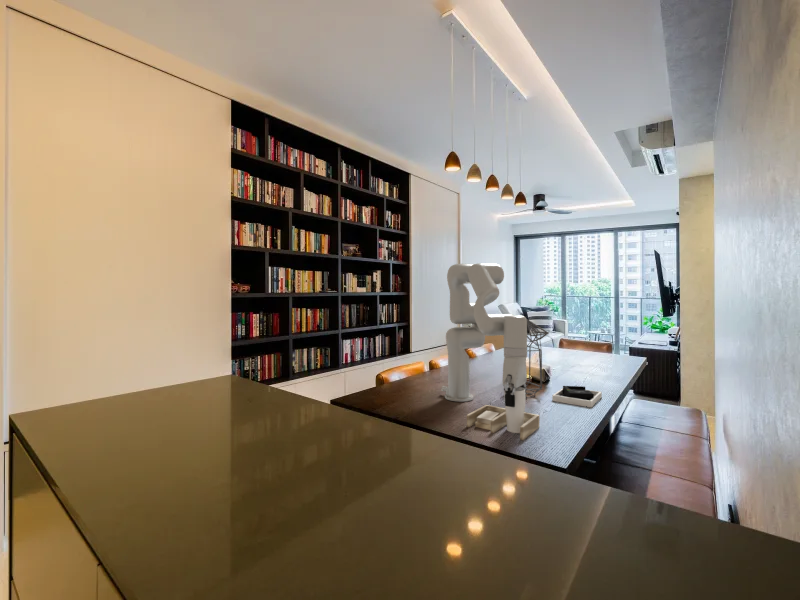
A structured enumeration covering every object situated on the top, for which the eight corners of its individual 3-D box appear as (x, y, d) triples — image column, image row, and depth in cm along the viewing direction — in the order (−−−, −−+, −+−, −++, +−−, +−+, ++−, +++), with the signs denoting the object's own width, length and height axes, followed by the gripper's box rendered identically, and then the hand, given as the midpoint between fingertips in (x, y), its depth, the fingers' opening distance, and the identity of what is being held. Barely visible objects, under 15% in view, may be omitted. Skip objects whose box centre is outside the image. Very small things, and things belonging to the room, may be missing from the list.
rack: (466, 429, 135) (466, 414, 135) (486, 417, 147) (486, 404, 147) (523, 443, 123) (523, 427, 123) (539, 429, 135) (539, 415, 134)
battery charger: (593, 403, 164) (593, 394, 164) (569, 402, 166) (569, 393, 165) (585, 395, 176) (585, 386, 176) (562, 394, 178) (562, 385, 178)
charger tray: (552, 400, 169) (552, 395, 169) (564, 391, 183) (565, 386, 183) (591, 407, 159) (591, 401, 159) (601, 397, 173) (601, 391, 173)
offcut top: (476, 421, 136) (476, 417, 135) (486, 414, 143) (486, 410, 143) (490, 424, 133) (490, 420, 133) (499, 417, 140) (499, 412, 140)
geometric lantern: (527, 390, 187) (529, 317, 185) (549, 399, 172) (551, 320, 170) (498, 392, 182) (500, 317, 180) (518, 402, 167) (521, 321, 165)
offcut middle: (475, 426, 135) (475, 422, 135) (487, 418, 143) (487, 414, 143) (490, 430, 132) (490, 425, 132) (501, 422, 140) (501, 417, 140)
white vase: (526, 437, 128) (526, 391, 127) (505, 435, 129) (505, 390, 129) (524, 429, 134) (524, 386, 134) (504, 428, 136) (504, 385, 135)
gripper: (514, 348, 140) (515, 396, 140) (493, 354, 126) (494, 407, 127) (535, 350, 135) (536, 399, 135) (516, 356, 122) (516, 411, 122)
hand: (515, 403), depth 131 cm, fingers open, 9 cm apart
